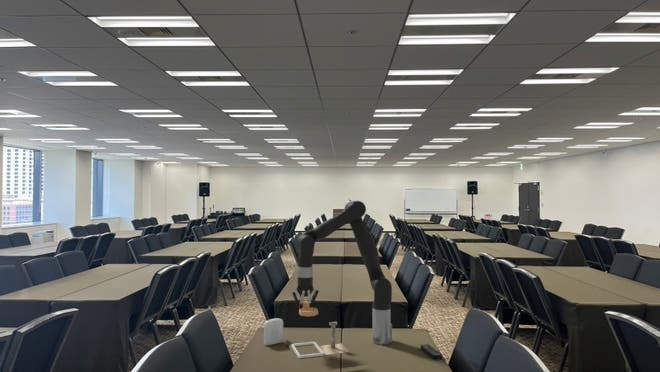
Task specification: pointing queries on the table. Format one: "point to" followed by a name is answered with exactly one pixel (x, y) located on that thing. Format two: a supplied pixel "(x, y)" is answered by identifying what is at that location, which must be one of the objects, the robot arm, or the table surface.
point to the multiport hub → (431, 352)
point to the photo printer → (273, 331)
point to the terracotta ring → (307, 310)
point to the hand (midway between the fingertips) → (304, 310)
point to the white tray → (307, 354)
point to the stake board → (334, 351)
